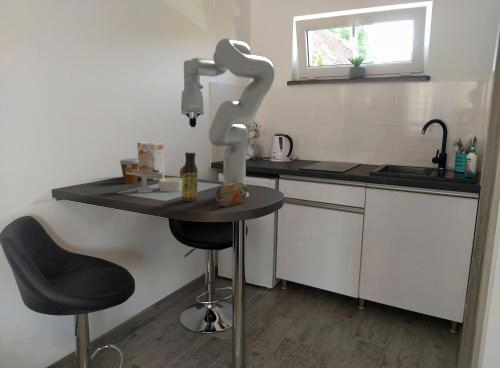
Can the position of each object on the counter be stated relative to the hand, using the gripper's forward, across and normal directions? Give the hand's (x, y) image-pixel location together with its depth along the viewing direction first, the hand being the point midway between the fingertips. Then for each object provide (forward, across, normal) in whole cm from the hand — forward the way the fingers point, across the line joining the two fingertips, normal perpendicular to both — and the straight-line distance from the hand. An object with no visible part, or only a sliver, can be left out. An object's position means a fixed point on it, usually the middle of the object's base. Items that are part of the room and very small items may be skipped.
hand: (192, 126), depth 178 cm
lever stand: (+29, +24, +4) cm, 38 cm away
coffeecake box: (+29, +17, -32) cm, 47 cm away
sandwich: (+29, -6, +42) cm, 52 cm away
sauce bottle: (+29, +8, +30) cm, 43 cm away
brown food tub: (+29, +29, -20) cm, 46 cm away
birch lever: (+22, +24, 0) cm, 33 cm away
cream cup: (+29, +12, +4) cm, 32 cm away
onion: (+29, 0, -12) cm, 32 cm away
